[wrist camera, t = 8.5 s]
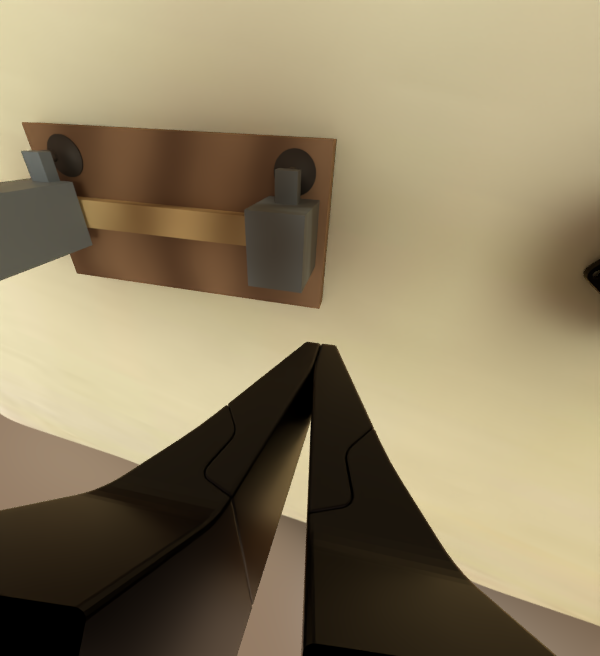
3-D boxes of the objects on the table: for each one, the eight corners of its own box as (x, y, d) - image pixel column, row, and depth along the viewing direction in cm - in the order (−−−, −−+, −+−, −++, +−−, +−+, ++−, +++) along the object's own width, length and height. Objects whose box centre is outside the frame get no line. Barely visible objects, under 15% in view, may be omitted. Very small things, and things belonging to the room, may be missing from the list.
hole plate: (336, 138, 17) (320, 141, 13) (322, 300, 22) (307, 340, 18) (39, 122, 20) (-54, 120, 16) (88, 267, 26) (29, 295, 21)
